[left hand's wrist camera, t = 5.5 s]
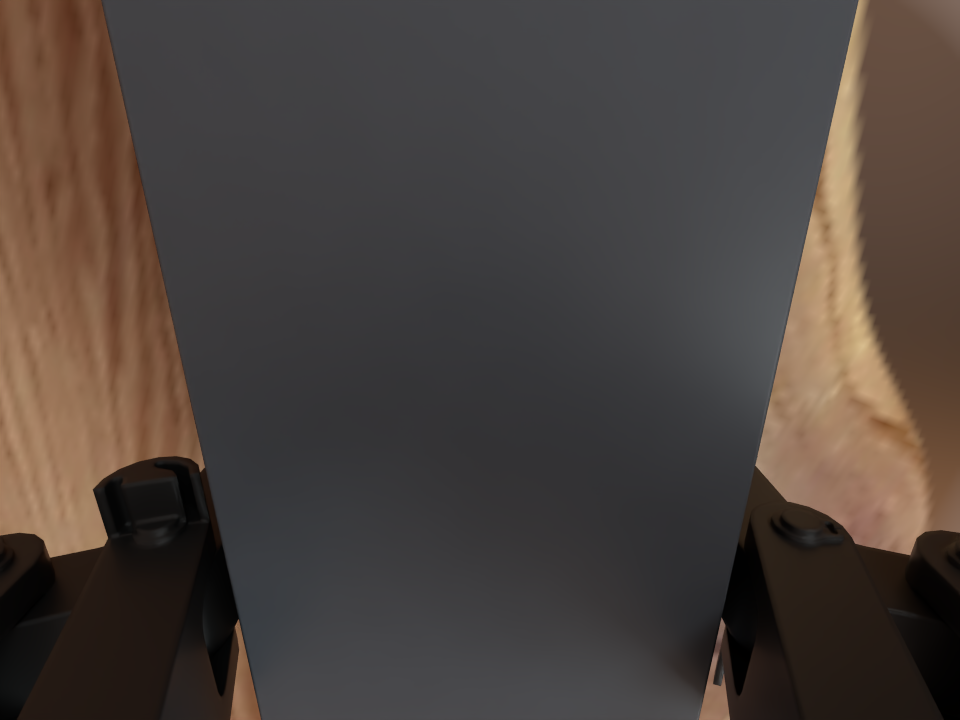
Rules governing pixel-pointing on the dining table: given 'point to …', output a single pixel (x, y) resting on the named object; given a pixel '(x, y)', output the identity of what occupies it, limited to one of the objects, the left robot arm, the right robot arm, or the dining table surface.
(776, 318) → the beam
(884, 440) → the dining table surface
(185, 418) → the dining table surface
